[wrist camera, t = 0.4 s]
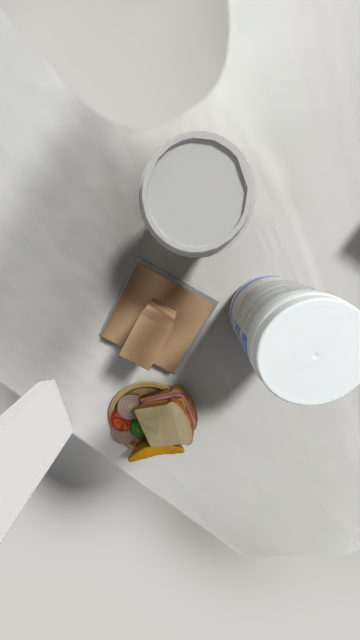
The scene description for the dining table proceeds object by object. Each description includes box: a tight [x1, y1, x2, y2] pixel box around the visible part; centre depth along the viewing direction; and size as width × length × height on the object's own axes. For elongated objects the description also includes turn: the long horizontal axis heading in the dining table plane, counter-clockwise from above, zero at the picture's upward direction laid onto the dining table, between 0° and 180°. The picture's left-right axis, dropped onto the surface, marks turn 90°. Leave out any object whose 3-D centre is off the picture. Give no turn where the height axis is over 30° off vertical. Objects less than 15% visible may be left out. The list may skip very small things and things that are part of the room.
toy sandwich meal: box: [108, 382, 198, 462], centre depth 38 cm, size 12×14×5 cm
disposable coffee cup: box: [139, 131, 255, 258], centre depth 26 cm, size 10×10×12 cm
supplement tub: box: [229, 275, 360, 405], centre depth 27 cm, size 10×10×15 cm
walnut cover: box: [101, 262, 214, 373], centre depth 31 cm, size 11×11×9 cm
